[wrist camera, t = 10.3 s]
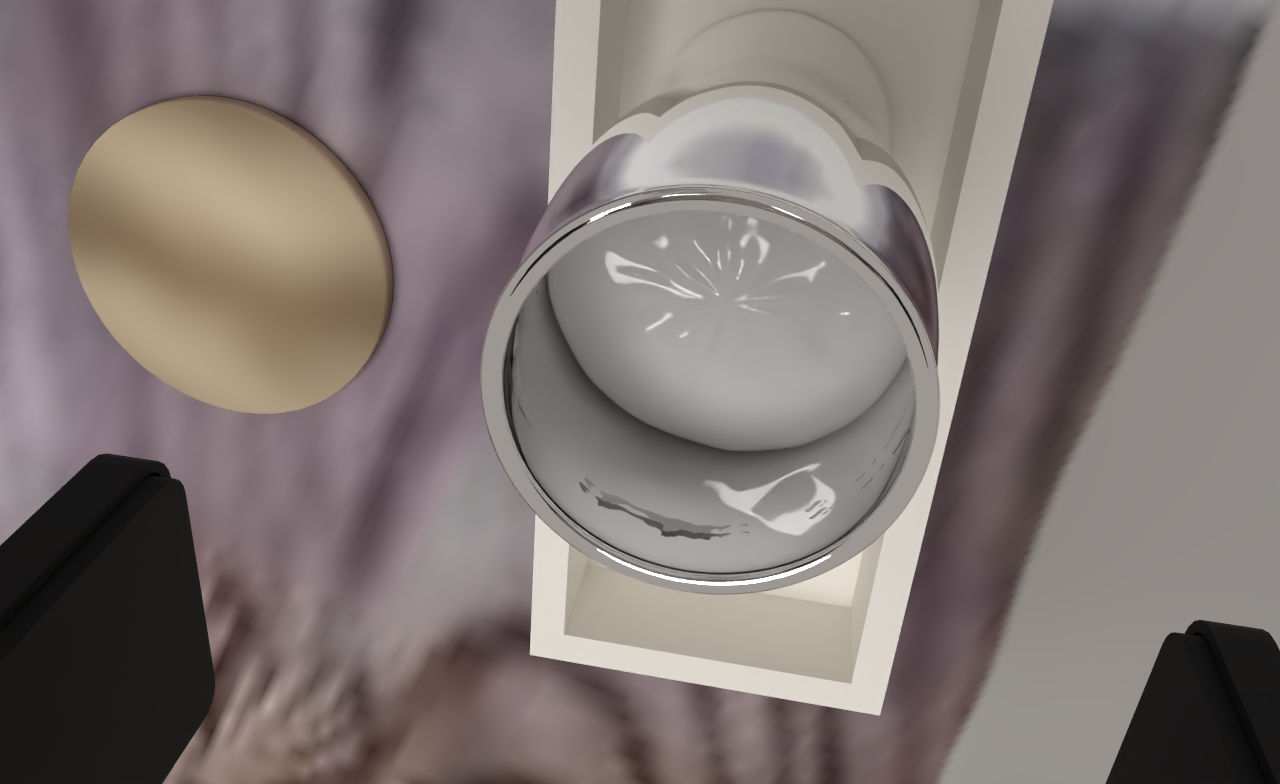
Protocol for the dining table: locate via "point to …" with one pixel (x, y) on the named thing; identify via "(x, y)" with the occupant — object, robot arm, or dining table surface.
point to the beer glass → (726, 323)
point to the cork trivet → (231, 254)
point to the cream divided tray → (962, 245)
